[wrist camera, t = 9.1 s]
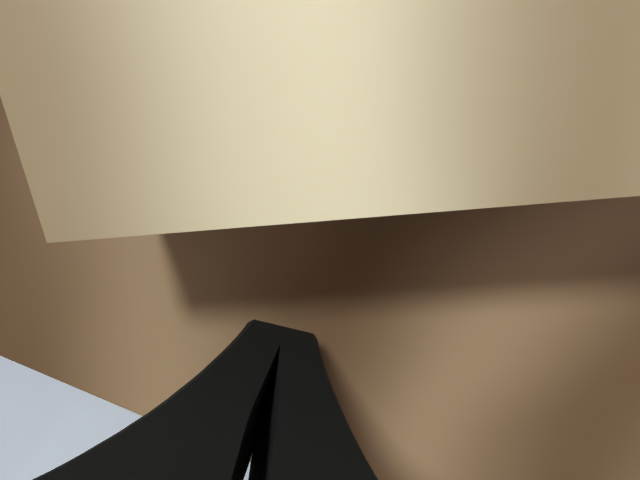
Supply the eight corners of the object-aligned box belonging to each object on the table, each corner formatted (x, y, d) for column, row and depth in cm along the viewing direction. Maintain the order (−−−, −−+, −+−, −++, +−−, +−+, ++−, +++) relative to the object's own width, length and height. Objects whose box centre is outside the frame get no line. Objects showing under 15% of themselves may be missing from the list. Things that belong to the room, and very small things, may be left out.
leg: (1054, -99, 7) (1789, -263, 3) (977, 112, 8) (1482, 156, 4) (96, 13, 8) (-96, -21, 5) (138, 186, 9) (6, 267, 6)
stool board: (1223, -86, 8) (1378, -112, 7) (560, 558, 14) (580, 605, 13) (260, -850, 6) (238, -1085, 5) (-41, 296, 12) (-85, 323, 11)
